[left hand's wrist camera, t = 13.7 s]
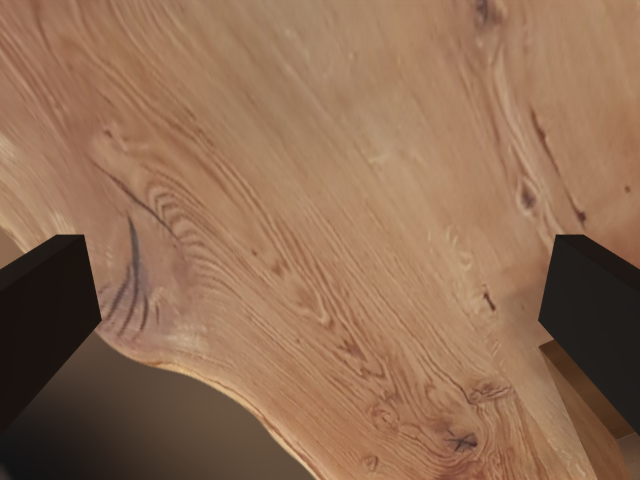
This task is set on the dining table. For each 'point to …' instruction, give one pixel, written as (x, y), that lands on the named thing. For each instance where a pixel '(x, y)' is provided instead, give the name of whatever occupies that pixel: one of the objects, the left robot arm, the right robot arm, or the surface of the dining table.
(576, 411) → the box
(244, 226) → the dining table surface
